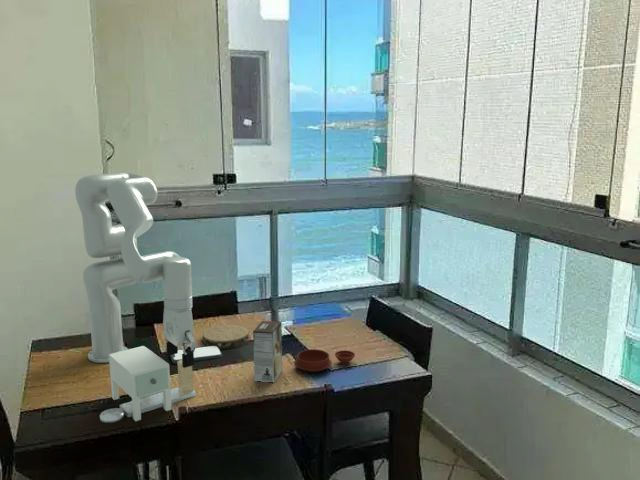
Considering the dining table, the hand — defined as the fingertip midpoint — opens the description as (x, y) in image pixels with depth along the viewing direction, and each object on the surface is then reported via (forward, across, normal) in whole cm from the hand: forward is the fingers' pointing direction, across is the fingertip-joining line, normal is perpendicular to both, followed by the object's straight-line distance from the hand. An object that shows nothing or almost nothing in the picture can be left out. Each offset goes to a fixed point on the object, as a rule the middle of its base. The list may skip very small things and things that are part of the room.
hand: (180, 360), depth 165 cm
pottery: (+10, +12, +44) cm, 46 cm away
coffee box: (+10, +6, +26) cm, 28 cm away
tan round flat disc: (+11, -28, +31) cm, 43 cm away
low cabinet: (+10, -1, -11) cm, 15 cm away
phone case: (+11, -21, +16) cm, 29 cm away
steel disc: (+10, +1, -20) cm, 23 cm away
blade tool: (+10, +1, -7) cm, 13 cm away
